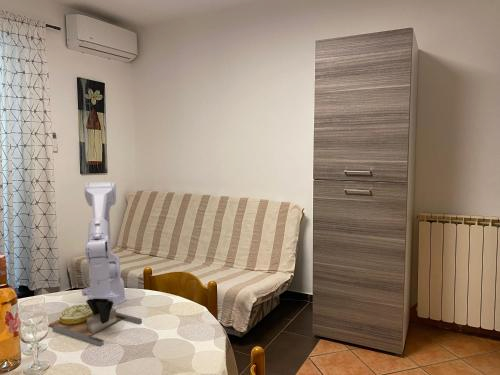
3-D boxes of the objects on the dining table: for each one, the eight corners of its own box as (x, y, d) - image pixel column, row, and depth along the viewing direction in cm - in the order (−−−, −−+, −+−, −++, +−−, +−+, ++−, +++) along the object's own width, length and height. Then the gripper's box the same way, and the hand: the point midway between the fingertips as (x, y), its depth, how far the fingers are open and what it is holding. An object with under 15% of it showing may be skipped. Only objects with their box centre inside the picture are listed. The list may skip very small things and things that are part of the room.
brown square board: (48, 326, 116) (46, 312, 115) (83, 310, 127) (82, 297, 127) (86, 338, 107) (85, 323, 107) (121, 320, 119) (120, 306, 118)
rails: (96, 311, 126) (96, 307, 126) (142, 323, 117) (141, 318, 116) (52, 331, 112) (52, 327, 112) (100, 347, 102) (100, 342, 102)
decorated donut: (99, 312, 126) (99, 301, 125) (89, 327, 115) (89, 315, 115) (67, 313, 125) (67, 303, 124) (54, 329, 114) (53, 317, 114)
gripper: (72, 279, 112) (75, 322, 113) (105, 285, 105) (108, 331, 106) (91, 272, 118) (94, 313, 119) (124, 278, 111) (126, 321, 113)
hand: (102, 321), depth 113 cm, fingers closed on brown square board, 2 cm apart
